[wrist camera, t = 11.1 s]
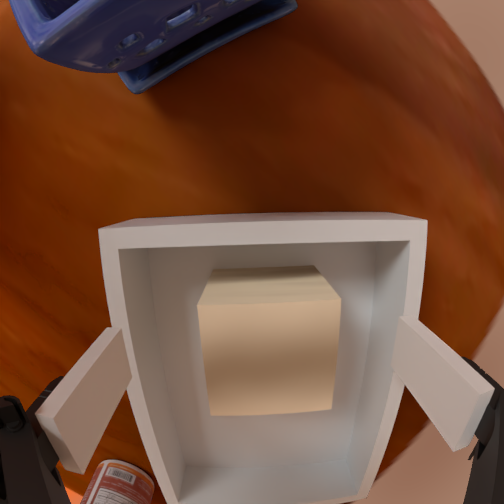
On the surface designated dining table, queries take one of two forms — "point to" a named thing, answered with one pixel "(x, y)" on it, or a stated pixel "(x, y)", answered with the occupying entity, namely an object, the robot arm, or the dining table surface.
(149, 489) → the pill bottle
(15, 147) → the dining table surface
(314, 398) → the beech cube
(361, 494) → the tote
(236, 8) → the flower pot
